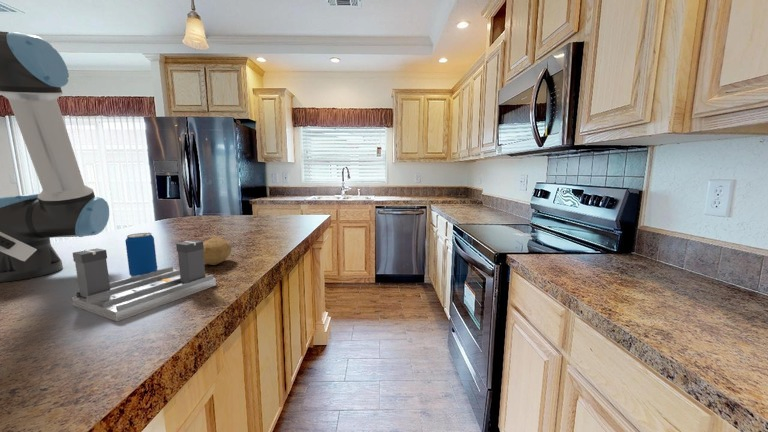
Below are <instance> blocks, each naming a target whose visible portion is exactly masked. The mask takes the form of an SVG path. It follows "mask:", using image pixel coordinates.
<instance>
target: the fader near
mask: <svg viewBox="0 0 768 432" xmlns="http://www.w3.org/2000/svg"><path fill="white" fill-rule="evenodd" d="M72 257H73V259H72V261H73V262H74V264H75V270H76V278H77V283H78V291H80V296H83V297H86V296H88V295H91V294H95V293H98V292H102V291H105V290H109V289H110V283H111V282H110V277H109V269H108V261H107V259H108V254H107V249H103V248H98V247H97V248H91V249H85V250H82V251H81V250H79V251H76V252H72Z"/></svg>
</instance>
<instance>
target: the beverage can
mask: <svg viewBox="0 0 768 432" xmlns="http://www.w3.org/2000/svg"><path fill="white" fill-rule="evenodd" d="M154 237H155V236H154V235H153V233H151V232H138V233H132V234H128V235H126V239H125V240H124V241H125V249H126V256H127V264H128V265H127V266H128V271H129V272H128V273H129V275H130V277H134V276H138V275H141V274H145V273H149V272H153V271H156V270H158V262H157V254H156V253H157V252H156V245H155V238H154Z"/></svg>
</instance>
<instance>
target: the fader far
mask: <svg viewBox="0 0 768 432" xmlns="http://www.w3.org/2000/svg"><path fill="white" fill-rule="evenodd" d="M203 242H204V241H203V240H202V241H201V240H195V239H193V240H192V239H191V240H187V241H186V240H185V241H182V242H177V243H175V245H176V246H175V247H176V252H177V255H178V256H177V257H178V266H179V267H178V268H179V270H180V278H181V282H183V283H187V282H190V281H193V280H196V279H199V278H202V277H205V276H206V270H205V269H206V266H205V263H204V255H203V249H204V246H203Z"/></svg>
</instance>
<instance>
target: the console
mask: <svg viewBox="0 0 768 432" xmlns="http://www.w3.org/2000/svg"><path fill="white" fill-rule="evenodd" d="M216 279H217V278H216V277H214V274H209V275H205V277H202V278H199V279H196V280H193V281H190V282H187V283H183V282H181V278H180V269H174V267H173V266H169V267H168V266H167V267H164V268H160V269H157V270H156V271H153V272H149V273H145V274H141V275H138V276H134V277H133V276H130V277H127V278H122V279H119V280H116V281H112V282H109V283H110V289H109V290H105V291H102V292H98V293H95V294H91V295H88V296H86V297H83V296H80V291H79V290H78V291H75V292H74V296H72V297H71V299H72V305H73V307H76V308H79V309H81V310H84V311H86V312H89V313H93V314H95V315H97V316H100V317H103V318H107V319H109V320H112V321H114V322H120V321H123V320H125V319H128V318H131V317H133V316H136V315H139V314H142V313H144V312H147V311H150V310H153V309H155V308H158V307H161V306H163V305H166V304H168V303H172V302H174V301H176V300H181V299H182V298H185V297H188V296H190V295H194V294H196V293H199V292H202V291H204V290H207V289H210V288H212V287H216V286H217V282H216V281H217V280H216Z"/></svg>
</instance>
